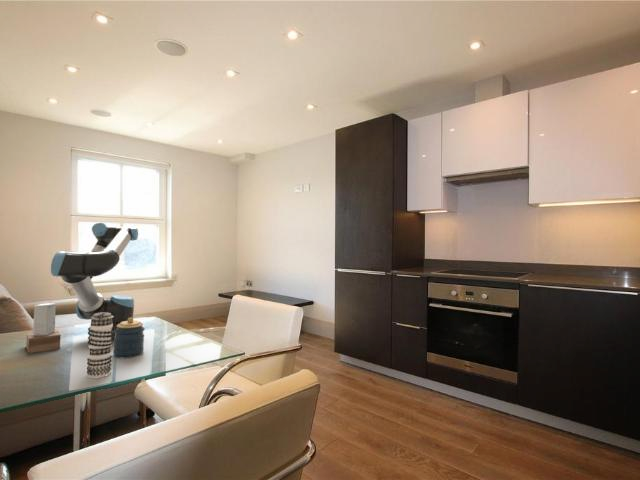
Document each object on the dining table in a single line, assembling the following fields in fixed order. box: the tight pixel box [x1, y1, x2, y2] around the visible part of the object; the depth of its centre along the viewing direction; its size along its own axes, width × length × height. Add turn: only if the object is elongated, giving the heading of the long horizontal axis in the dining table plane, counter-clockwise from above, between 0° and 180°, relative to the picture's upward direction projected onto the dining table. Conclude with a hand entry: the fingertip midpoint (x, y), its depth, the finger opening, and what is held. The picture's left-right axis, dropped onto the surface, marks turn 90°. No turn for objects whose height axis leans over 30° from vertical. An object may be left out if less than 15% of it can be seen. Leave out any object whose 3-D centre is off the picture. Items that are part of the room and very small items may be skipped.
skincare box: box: [32, 302, 57, 336], centre depth 169 cm, size 8×6×15 cm
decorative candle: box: [86, 312, 115, 379], centre depth 139 cm, size 9×9×25 cm
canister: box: [112, 317, 145, 359], centre depth 165 cm, size 13×13×18 cm
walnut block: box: [25, 329, 61, 354], centre depth 169 cm, size 12×12×7 cm
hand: (75, 292), depth 183 cm, fingers closed
